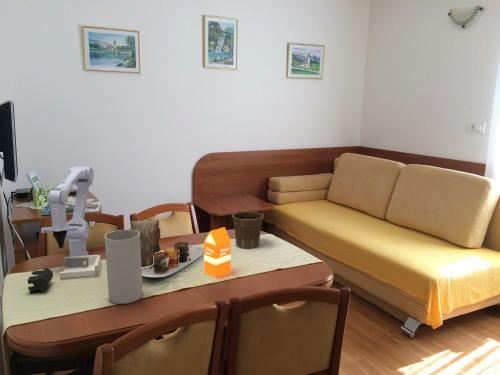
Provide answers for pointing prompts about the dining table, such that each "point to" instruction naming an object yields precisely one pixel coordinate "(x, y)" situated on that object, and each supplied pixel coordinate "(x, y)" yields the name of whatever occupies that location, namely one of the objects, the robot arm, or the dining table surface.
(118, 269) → the cylinder vase
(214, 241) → the orange juice
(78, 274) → the white open tray
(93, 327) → the dining table surface
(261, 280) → the dining table surface
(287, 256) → the dining table surface
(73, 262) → the side door
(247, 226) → the plant pot
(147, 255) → the brown rough block
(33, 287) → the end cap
